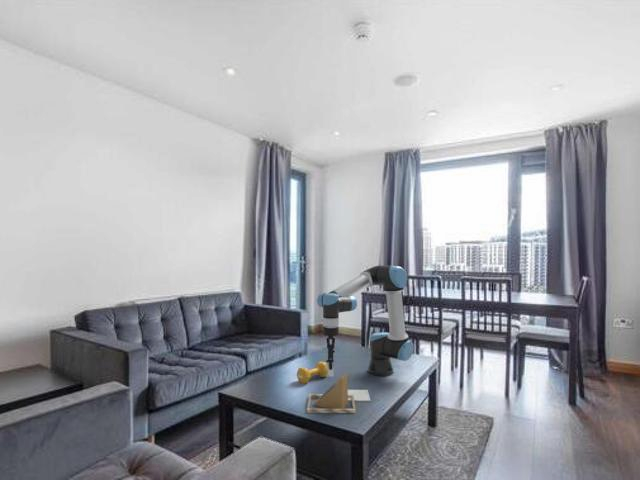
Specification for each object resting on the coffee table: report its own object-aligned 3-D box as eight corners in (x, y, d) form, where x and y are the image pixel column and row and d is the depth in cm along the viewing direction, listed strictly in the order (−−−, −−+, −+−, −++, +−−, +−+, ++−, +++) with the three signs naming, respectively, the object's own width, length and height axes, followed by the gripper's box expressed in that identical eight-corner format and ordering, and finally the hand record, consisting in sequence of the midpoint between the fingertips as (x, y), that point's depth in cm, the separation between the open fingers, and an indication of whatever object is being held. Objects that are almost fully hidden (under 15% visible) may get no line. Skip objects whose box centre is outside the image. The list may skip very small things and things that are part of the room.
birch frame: (353, 397, 181) (353, 394, 181) (355, 413, 164) (355, 409, 164) (309, 397, 182) (309, 394, 182) (306, 412, 165) (306, 409, 165)
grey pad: (367, 391, 189) (367, 389, 189) (370, 401, 176) (370, 400, 176) (342, 390, 189) (342, 389, 189) (343, 401, 176) (343, 400, 176)
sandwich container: (318, 398, 180) (318, 368, 181) (348, 403, 174) (347, 372, 175) (311, 405, 173) (311, 373, 173) (341, 411, 166) (341, 378, 167)
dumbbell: (305, 386, 197) (305, 370, 197) (294, 381, 203) (294, 366, 203) (330, 377, 210) (330, 363, 210) (319, 373, 216) (319, 359, 216)
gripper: (323, 321, 186) (323, 362, 185) (322, 332, 161) (322, 380, 161) (338, 321, 186) (338, 363, 185) (339, 332, 161) (339, 380, 160)
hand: (330, 371), depth 173 cm, fingers open, 13 cm apart
